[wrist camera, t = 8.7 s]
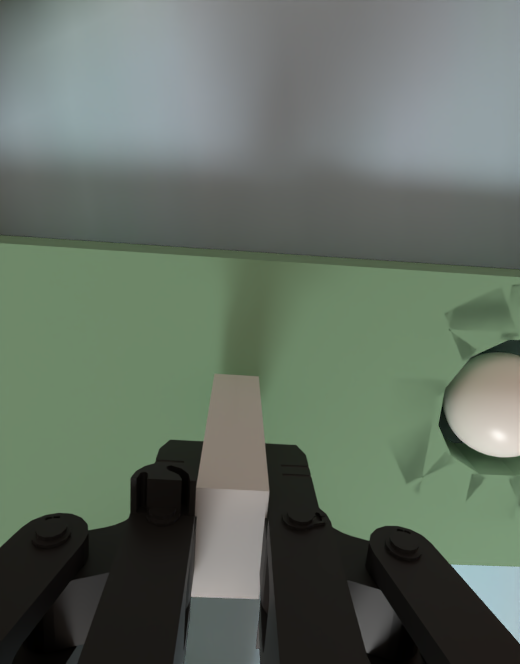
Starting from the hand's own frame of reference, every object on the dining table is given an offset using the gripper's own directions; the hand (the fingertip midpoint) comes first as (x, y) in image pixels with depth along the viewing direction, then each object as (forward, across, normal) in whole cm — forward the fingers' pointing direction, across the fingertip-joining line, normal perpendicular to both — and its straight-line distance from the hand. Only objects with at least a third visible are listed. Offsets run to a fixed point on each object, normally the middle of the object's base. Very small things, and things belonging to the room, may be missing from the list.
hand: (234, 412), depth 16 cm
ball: (+2, -10, 0) cm, 10 cm away
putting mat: (+4, -2, +1) cm, 4 cm away
